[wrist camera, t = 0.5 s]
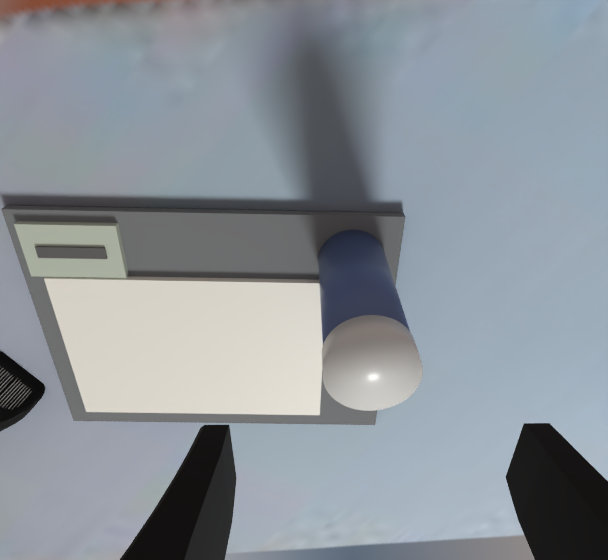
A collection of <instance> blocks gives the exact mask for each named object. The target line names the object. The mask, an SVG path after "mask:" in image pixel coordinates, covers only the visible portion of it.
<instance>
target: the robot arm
mask: <svg viewBox="0 0 608 560" xmlns="http://www.w3.org/2000/svg"><path fill="white" fill-rule="evenodd" d="M506 480H507V483H508V487H509V490H510V494H511V497H512V501H513V504H514V507H515V510H516V514H517V517H518V520H519V523H520V525H521V527H522V530H523V532H524V535H525V537H526V539H527V542H528V544H529V546H530V549H531V551H532V554H533V556H534V558H535V560H608V481H607V480H606V479H605V478H604V477H603V476H602V475H601V474H600V473H599V472H598V471H597V470H596V469H595V468H594V467H593V466H591V465H590V464H589V463H588V462H587V461H586V460H585V459H584V458H583V457H582V456H581V455H580V454H579V453H578V452H577V451H576V450H575V449H574V448H573V447H572V446H571V445H570V444H569V443H568V441H567V440H566V439H565V438H564V437H563V436H562V435H561V434H559V433H558V432H557V431H556V430H555V429H554V428H553V427H552V426H551V425H550V424H549V423H534V424H524V425H523V428H522V431H521V434H520V437H519V440H518V443H517V446H516V449H515V452H514V454H513V457H512V460H511V463H510V466H509V469H508V472H507V475H506ZM235 487H236V472H235V465H234V458H233V450H232V443H231V436H230V428H229V425H204V426H203V427H201V428H200V430H199V432H198V434H197V436H196V438H195V440H194V442H193V444H192V446H191V448H190V450H189V452H188V454H187V456H186V458H185V459H184V461H183V463H182V465H181V466H180V468H179V470H178V472H177V473H176V475H175V477H174V479H173V480H172V482H171V484H170V485H169V487H168V488H167V490H166V492H165V493H164V495H163V497H162V498H161V500H160V501H159V503H158V505H157V506H156V508H155V509H154V511H153V512H152V514H151V516H150V517H149V518H148V520H147V521H146V523H145V524H144V526H143V527H142V529H141V530H140V532H139V533H138V535H137V536H136V537H135V539H134V540H133V542H132V543H131V545H130V546H129V548H128V549H127V550H126V552H125V553H124V555H123V556H122V557H121V559H120V560H224V559H225V554H226V549H227V544H228V539H229V534H230V529H231V524H232V517H233V507H234V497H235Z"/></svg>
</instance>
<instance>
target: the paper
mask: <svg viewBox="0 0 608 560" xmlns="http://www.w3.org/2000/svg"><path fill="white" fill-rule="evenodd" d="M44 281H45V284H46V287H47V290H48V293H49V296H50V300H51V303H52V306H53V309H54V312H55V315H56V318H57V322H58V325H59V328H60V331H61V334H62V337H63V341H64V344H65V347H66V350H67V353H68V356H69V359H70V363H71V366H72V369H73V372H74V375H75V378H76V381H77V385H78V388H79V391H80V394H81V397H82V400H83V403H84V407H85V410H86V412H124V413H194V414H265V415H320V401H321V383H322V347H323V340H322V321H321V303H320V285H319V280H307V279H250V278H192V277H135V276H127V278H97V277H45V278H44Z"/></svg>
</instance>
